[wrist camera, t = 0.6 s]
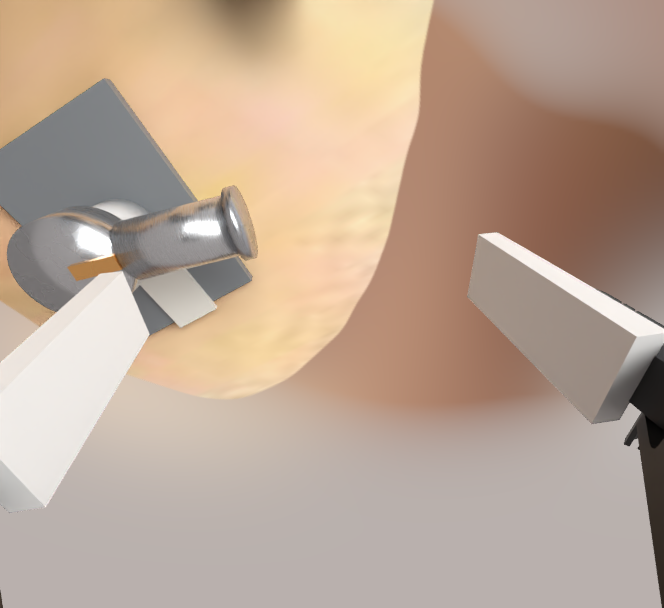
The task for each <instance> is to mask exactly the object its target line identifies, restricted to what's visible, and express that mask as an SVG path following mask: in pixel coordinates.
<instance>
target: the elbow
mask: <svg viewBox="0 0 664 608" xmlns="http://www.w3.org/2000/svg"><path fill="white" fill-rule="evenodd" d="M257 254H258V250H257V241H256V236H255V232H254V228H253V224H252V221H251V218H250V215H249V212H248V209H247V206H246V204H245V201H244V199H243V197H242V195H241V193H240V191H239V190H238V189H237V187H236V186H229V187H225V188H223V189H222V192H221V196H217V197H213V198H209V199H205V200H201V201H197V202H193V203H189V204H185V205H181V206H177V207H173V208H169V209H165V210H161V211H157V212H153V213H149V214H145V215H141V216H137V217H133V218H129V219H125V220H122V219H120V218H119V217H117V216H115V215H113V214H112V213H109V212H107V211H105V210H102V209H99V208H95V207H90V206H73V207H67V208H64V209H61V210H59V211H56V212H54V213H51V214H49V215H46V216H44V217H41V218H39V219H36V220H34V221H31V222H29V223H27V224H25V225H23V226H22V227H20V228H19V229H18V230H17V231H16V232H15V233H14V234H13V235H12V237H11V239H10V241H9V244H8V248H7V260H8V265H9V268H10V270H11V273H12V275H13V276H14V278H15V280H16V281H17V283H18V284H19V286H20V287H21V288H22V289H23V290H24V291H25V292H26V293H27V294H28V295H29V296H30V297H31V298H33V299H34V300H35V301H37V302H38V303H40V304H41V305H43V306H45V307H47V308H48V309H50V310H53V311H55V312H57V311H59V310H60V309H61V308H62V307H63V306H64V305H65V304H66V303H68V302H69V301H70V300H71V299H72V298H73V297H74V296H75V295H77V294H78V293H79V292H80V291H81V290H82V289H83V288H84V287H85V286H87V285H88V284H89V283H90V282H91V281H92V280H93V279H94V278H96V277H97V276H98V275H99V274H101V273H111V272H120V271H123V273H124V276H125V278H126V280H127V283H128V285H129V287H130V290H131V292H132V293H133V292H134V291H135V290H136V289H137V288H138V286H139V285H140V284H141V283H142V282H143V280H144V279H148V278H152V277H156V276H161V275H165V274H169V273H173V272H177V271H181V270H185V269H189V268H193V267H197V266H201V265H205V264H209V263H213V262H217V261H221V260H225V259H229V258H233V257H237V256H241V257H242V258H243V259H244V260H250V259H254V258H257Z"/></svg>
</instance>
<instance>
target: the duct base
mask: <svg viewBox="0 0 664 608" xmlns="http://www.w3.org/2000/svg"><path fill="white" fill-rule="evenodd" d="M197 201H198V200H197V199H196V198H195V196H194V195H193V193H192V192H191V191H190V189H189V188H188V187H187V185H186V184H185V182H184V181H183V180H182V178H181V177H180V175H179V174H178V173H177V171H176V170H175V169H174V167H173V166H172V164H171V163H170V162H169V160H168V159H167V157H166V156H165V155H164V153H163V152H162V151H161V149H160V148H159V146H158V145H157V144H156V142H155V141H154V139H153V138H152V137H151V135H150V134H149V133H148V131H147V130H146V128H145V127H144V126H143V124H142V123H141V121H140V120H139V119H138V117H137V116H136V115H135V113H134V112H133V110H132V109H131V108H130V106H129V105H128V103H127V102H126V101H125V99H124V98H123V97H122V95H121V94H120V92H119V91H118V90H117V88H116V87H115V85H114V84H113V83H112V81H111V80H109V79H102V80H101V81H99V82H98V83H96V84H95V85H94V86H92V87H91V88H89V89H88V90H86V91H85V92H83V93H82V94H80V95H79V96H77V97H76V98H75V99H73V100H72V101H70V102H69V103H67V104H66V105H64V106H63V107H61V108H60V109H58V110H57V111H55V112H54V113H53V114H51V115H50V116H48V117H47V118H45V119H44V120H42V121H41V122H39V123H38V124H36V125H35V126H34V127H32V128H31V129H29V130H28V131H26V132H25V133H23V134H22V135H20V136H19V137H17V138H16V139H15V140H13V141H12V142H10V143H9V144H7V145H6V146H4V147H3V148H1V149H0V205H1V206H2V207H3V208H4V209H5V210H6V211H7V212H8V213H9V214H10V215H11V216H12V217H13V218H14V219H15V220H16V221H17V222H18V223H19V224H21V225H22V226H23V225H25V224H27V223H29V222H31V221H34V220H36V219H39V218H41V217H44V216H46V215H49V214H51V213H54V212H56V211H59V210H61V209H64V208H67V207H73V206H90V207H95V208H99V209H102V210H105V211H107V212H109V213H112V214H113V215H115V216H117V217H119V218H120V219H122V220H125V219H129V218H133V217H137V216H141V215H145V214H149V213H153V212H157V211H161V210H165V209H169V208H173V207H177V206H181V205H185V204H189V203H193V202H197ZM250 281H252V275H251V274H250V272H249V271H248V270H247V268H246V267H245V265H244V264H243V263H242V261H241V260H240V259H239V257H238V256H237V257H233V258H229V259H225V260H221V261H217V262H213V263H209V264H205V265H201V266H197V267H193V268H189V269H185V270H181V271H177V272H173V273H169V274H165V275H161V276H156V277H152V278H148V279H144V280H143V282H142V283H141V284H140V285H139V286H138V288H137V289H136V290H135V291H134V292H133V293H132V294H133V297H134V299H135V301H136V304H137V306H138V308H139V311H140V313H141V315H142V318H143V320H144V322H145V325H146V327H147V329H148V332H149V336H150V335H151V334H153V333H155V332H157V331H159V330H161V329H163V328H164V327H166V326H168V325H170V324H172V323H174V322H175V323H176V324H177V325H178V326H179V327H180V328H181V327H183V326H185V325H187V324H189V323H191V322H193V321H194V320H196V319H198V318H200V317H202V316H204V315H206V314H208V313H209V312H211V311H213V310H215V309H216V308H217V305H216V304H215V303H214V302H213V301H215V300H217V299H218V298H220V297H222V296H224V295H226V294H228V293H230V292H231V291H233V290H235V289H237V288H239V287H241V286H243V285H244V284H246V283H248V282H250Z"/></svg>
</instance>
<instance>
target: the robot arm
mask: <svg viewBox="0 0 664 608" xmlns="http://www.w3.org/2000/svg"><path fill="white" fill-rule="evenodd" d="M467 297H468V298H469V299H470V300H471V301H472V302H473V303H474V304H475V305H476V306H477V307H478V308H479V309H480V310H481V311H482V312H483V313H484V314H485V315H486V316H487V317H488V318H489V319H490V320H491V321H492V322H493V323H494V324H495V325H496V326H497V328H498V329H499V330H500V331H501V332H502V333H503V334H504V335H505V336H506V337H507V338H508V339H509V340H510V341H511V342H512V343H513V344H514V345H515V346H516V347H517V348H518V349H519V350H520V351H521V352H522V353H523V354H524V355H525V356H526V357H527V358H528V359H529V360H530V361H531V362H532V363H533V365H534V366H535V367H536V368H538V370H539V371H541V373H542V374H543V375H544V376H545V377H546V378H547V379H548V380H549V381H550V382H551V383H552V384H553V385H554V386H555V387H556V388H557V389H558V390H559V391H560V392H561V393H562V394H563V395H564V396H565V397H566V398H567V399H568V400H569V401H570V402H571V403H572V404H573V406H575V407H576V409H577V410H578V411H579V412H580V413H581V414H582V415H583V416H584V417H585V418H586V419H587V420H588V421H589V422H590V423H591V424H596V423H602V422H609V421H615V420H620V418H621V416H622V414H623V413H624V411H625V409H626V408H627V406H628V404H629V403H632V404H633V405H634V406H635V407H636V408H637V409H639V410H640V411H641V414H640V416H639V417H638V419H637V420H636V422H635V424H634V425H633V427H632V429H631V430H630V432H629V434H628V435H627V437H626V438H625V442H624V445H627V446H630V445H631V443H632V441H633V440H634V439H637V438H638V440H639V447H638V449H639V450H640V455H641V462H642V469H643V476H644V483H645V490H646V497H647V505H648V511H649V519H650V526H651V533H652V540H653V546H654V554H655V561H656V568H657V575H658V583H659V590H660V597H661V604H662V608H664V326H663V325H662V324H660V323H658V322H656V321H655V320H653V319H651V318H649V317H648V316H646V315H644V314H642V313H640V312H638V311H637V312H635V309H634V308H632V307H630V306H628V305H627V304H622V303H621V301H619V300H618V299H616V298H614V297H612V296H611V295H609V294H607V293H605V292H603V291H600V290H597V289H594V288H592V287H591V286H589V285H587V284H586V283H584V282H582V281H581V280H579V279H577V278H575V277H574V276H572V275H570V274H568V273H567V272H565V271H563V270H562V269H560V268H558V267H556V266H555V265H553V264H551V263H549V262H548V261H546V260H544V259H542V258H541V257H539V256H537V255H536V254H534V253H532V252H530V251H529V250H527V249H525V248H523V247H522V246H520V245H518V244H516V243H515V242H513V241H511V240H510V239H508V238H506V237H504V236H503V235H501V234H499V233H487V234H479V235H478V240H477V245H476V251H475V257H474V262H473V269H472V274H471V279H470V285H469V291H468V296H467ZM148 336H149V332H148V329H147V327H146V325H145V322H144V320H143V318H142V315H141V313H140V311H139V308H138V306H137V304H136V301H135V299H134V297H133V294H132V292H131V290H130V287H129V285H128V283H127V280H126V278H125V276H124V273H123V271H120V272H111V273H101V274H99V275H98V276H97V277H96V278H94V279H93V280H92V281H91V282H90V283H89V284H88V285H87V286H85V287H84V288H83V289H82V290H81V291H80V292H79V293H78V294H77V295H75V296H74V297H73V298H72V299H71V300H70V301H69V302H68V303H66V304H65V305H64V306H63V307H62V308H61V309H60V310H59V311H57V312H56V313H55V314H54V315H53V316H52V317H51V318H50V319H48V320H47V321H46V322H45V323H44V324H43V325H42V326H41V327H39V328H38V329H37V330H36V331H35V332H34V333H33V334H32V335H30V336H29V337H28V338H27V339H26V340H25V341H24V342H23V343H21V344H20V345H19V346H18V347H17V348H16V349H15V350H14V351H12V352H11V353H10V354H9V355H8V356H7V357H6V358H5V359H3V360H2V361H1V362H0V505H1V506H3V508H4V509H6V510H7V511H8V512H9V513H12V512H19V511H26V510H32V509H38V508H45V507H46V506H47V504H48V503H49V501H50V499H51V498H52V496H53V494H54V493H55V491H56V489H57V488H58V486H59V484H60V483H61V481H62V479H63V478H64V476H65V474H66V473H67V471H68V469H69V467H70V466H71V464H72V463H73V461H74V459H75V458H76V456H77V454H78V453H79V451H80V449H81V448H82V446H83V444H84V443H85V441H86V439H87V438H88V436H89V434H90V433H91V431H92V429H93V428H94V426H95V424H96V423H97V421H98V419H99V418H100V416H101V414H102V413H103V411H104V409H105V408H106V406H107V404H108V403H109V401H110V399H111V398H112V396H113V394H114V393H115V391H116V389H117V388H118V386H119V384H120V383H121V381H122V379H123V378H124V376H125V374H126V373H127V371H128V369H129V368H130V366H131V364H132V363H133V361H134V359H135V358H136V356H137V354H138V353H139V351H140V349H141V348H142V346H143V344H144V343H145V341H146V339H147V338H148ZM0 608H3V605H2V599H1V592H0Z"/></svg>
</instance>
